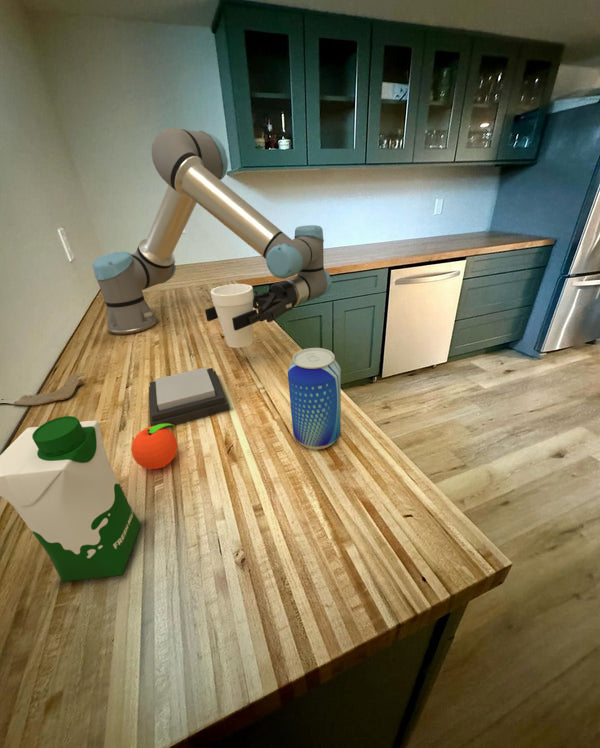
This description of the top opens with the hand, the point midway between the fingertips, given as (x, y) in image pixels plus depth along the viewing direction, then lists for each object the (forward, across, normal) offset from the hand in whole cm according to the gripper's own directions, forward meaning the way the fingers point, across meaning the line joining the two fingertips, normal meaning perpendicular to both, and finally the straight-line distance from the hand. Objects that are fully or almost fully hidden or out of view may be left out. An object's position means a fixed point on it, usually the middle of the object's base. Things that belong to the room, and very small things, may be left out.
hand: (220, 319), depth 76 cm
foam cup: (-4, 0, -7) cm, 9 cm away
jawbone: (+33, +30, -14) cm, 47 cm away
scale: (+13, -2, -14) cm, 19 cm away
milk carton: (+40, -24, -14) cm, 48 cm away
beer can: (+5, -32, -14) cm, 35 cm away
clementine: (+26, -15, -14) cm, 33 cm away
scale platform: (+13, -2, -11) cm, 18 cm away
